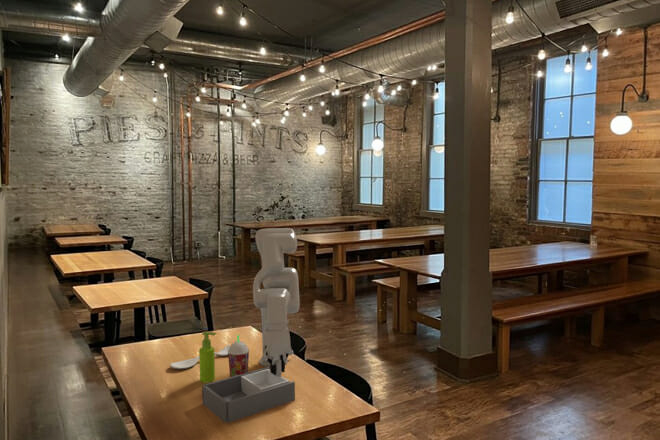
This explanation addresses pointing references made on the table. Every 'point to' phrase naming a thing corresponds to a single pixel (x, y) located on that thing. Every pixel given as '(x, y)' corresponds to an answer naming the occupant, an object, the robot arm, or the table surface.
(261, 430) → the table surface
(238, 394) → the bay
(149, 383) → the table surface
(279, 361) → the drawer
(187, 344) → the table surface
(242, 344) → the smoothie
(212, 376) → the soap dispenser
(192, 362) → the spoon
